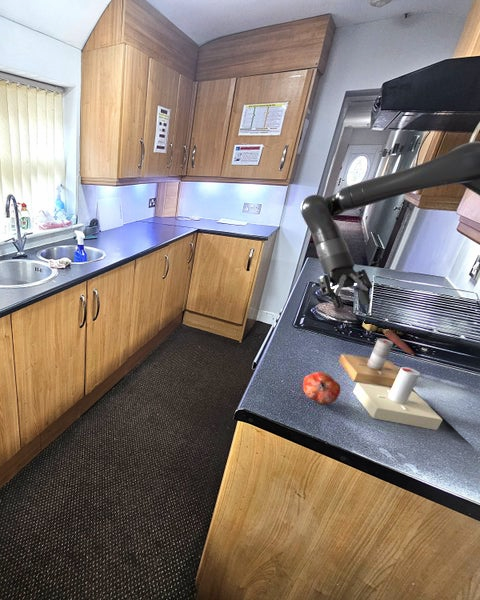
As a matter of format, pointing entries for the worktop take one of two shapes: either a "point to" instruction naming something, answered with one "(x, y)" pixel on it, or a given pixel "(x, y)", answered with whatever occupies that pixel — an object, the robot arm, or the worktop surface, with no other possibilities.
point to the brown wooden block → (369, 371)
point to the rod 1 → (380, 354)
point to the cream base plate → (396, 407)
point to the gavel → (390, 336)
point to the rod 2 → (403, 385)
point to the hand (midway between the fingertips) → (353, 306)
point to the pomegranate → (321, 388)
